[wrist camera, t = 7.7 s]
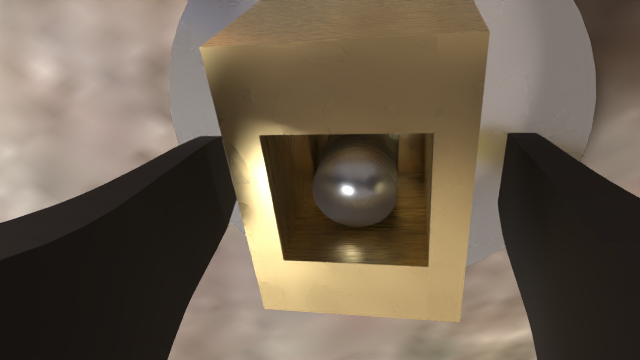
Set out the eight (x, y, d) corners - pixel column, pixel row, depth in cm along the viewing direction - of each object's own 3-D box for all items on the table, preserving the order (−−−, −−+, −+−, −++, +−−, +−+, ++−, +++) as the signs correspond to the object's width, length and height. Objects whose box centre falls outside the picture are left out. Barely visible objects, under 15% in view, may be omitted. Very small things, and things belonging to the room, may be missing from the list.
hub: (170, 204, 17) (113, 280, 14) (204, -183, 10) (107, -213, 7) (464, 299, 17) (476, 396, 14) (692, -20, 10) (821, 25, 7)
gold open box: (296, 216, 15) (264, 308, 12) (260, -1, 11) (199, 47, 8) (448, 220, 14) (459, 322, 11) (465, -16, 10) (489, 31, 7)
